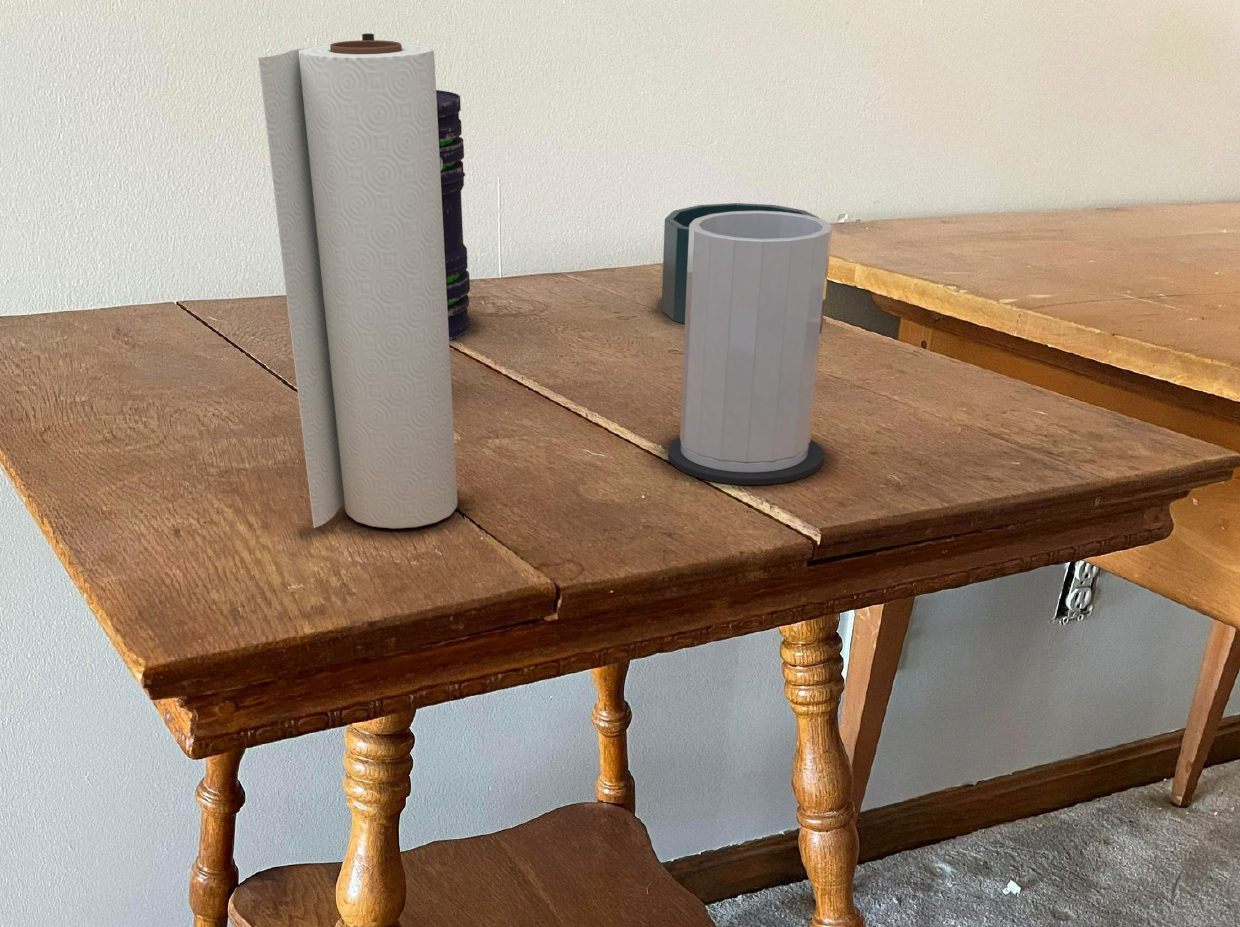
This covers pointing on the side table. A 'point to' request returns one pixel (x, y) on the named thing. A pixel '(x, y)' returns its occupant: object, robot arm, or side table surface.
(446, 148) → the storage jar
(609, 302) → the side table surface
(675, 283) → the pail
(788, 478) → the coaster
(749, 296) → the silver cup
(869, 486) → the side table surface
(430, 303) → the paper towel roll
